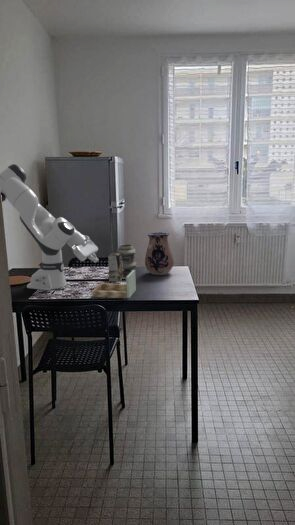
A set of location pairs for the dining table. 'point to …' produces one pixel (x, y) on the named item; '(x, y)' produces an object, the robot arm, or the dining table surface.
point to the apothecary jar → (127, 257)
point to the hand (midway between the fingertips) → (97, 261)
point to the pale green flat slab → (131, 283)
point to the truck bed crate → (110, 290)
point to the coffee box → (115, 267)
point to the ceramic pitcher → (158, 254)
